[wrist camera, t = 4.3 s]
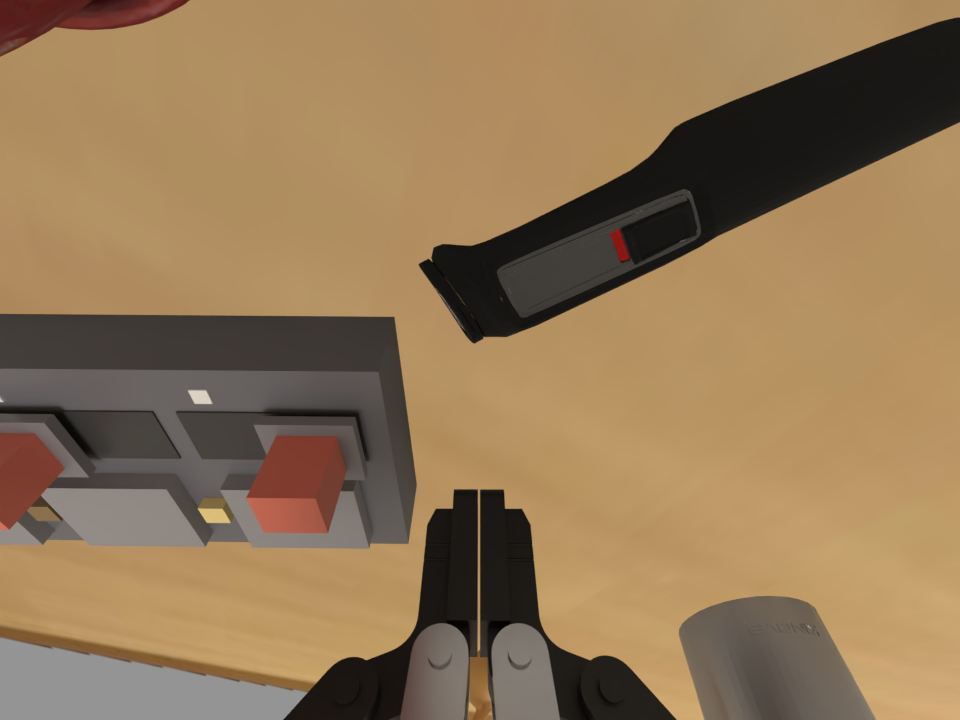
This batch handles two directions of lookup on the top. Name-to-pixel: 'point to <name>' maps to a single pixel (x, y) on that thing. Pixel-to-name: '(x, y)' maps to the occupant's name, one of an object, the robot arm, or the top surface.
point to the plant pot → (73, 16)
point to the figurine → (479, 687)
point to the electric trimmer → (707, 182)
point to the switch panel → (204, 422)
